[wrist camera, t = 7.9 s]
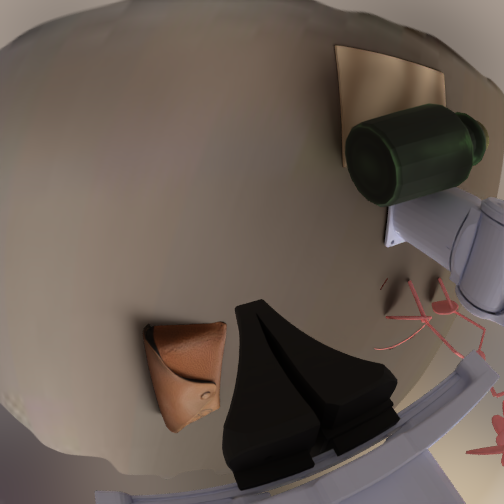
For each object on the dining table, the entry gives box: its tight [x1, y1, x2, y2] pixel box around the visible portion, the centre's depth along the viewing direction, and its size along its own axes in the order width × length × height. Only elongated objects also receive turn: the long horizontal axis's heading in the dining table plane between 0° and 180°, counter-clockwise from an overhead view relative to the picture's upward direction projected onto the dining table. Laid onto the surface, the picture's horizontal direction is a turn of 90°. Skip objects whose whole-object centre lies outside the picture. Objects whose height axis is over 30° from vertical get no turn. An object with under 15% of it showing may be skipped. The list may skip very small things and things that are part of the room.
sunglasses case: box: [143, 322, 227, 433], centre depth 28 cm, size 18×7×7 cm
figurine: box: [374, 278, 504, 466], centre depth 23 cm, size 15×26×35 cm, turn 79°
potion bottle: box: [345, 103, 489, 207], centre depth 19 cm, size 8×8×18 cm
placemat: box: [335, 45, 446, 168], centre depth 21 cm, size 16×11×1 cm
